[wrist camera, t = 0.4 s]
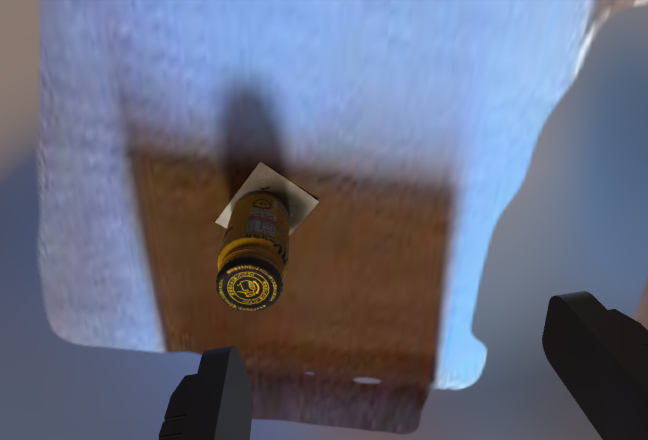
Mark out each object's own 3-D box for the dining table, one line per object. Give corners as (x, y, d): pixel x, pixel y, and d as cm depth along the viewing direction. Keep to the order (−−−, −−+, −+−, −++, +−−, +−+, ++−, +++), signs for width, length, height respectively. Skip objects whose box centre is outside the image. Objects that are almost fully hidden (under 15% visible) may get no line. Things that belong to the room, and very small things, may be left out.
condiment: (215, 221, 41) (188, 296, 31) (260, 160, 38) (247, 221, 28) (272, 254, 44) (265, 334, 33) (318, 200, 41) (327, 269, 30)
